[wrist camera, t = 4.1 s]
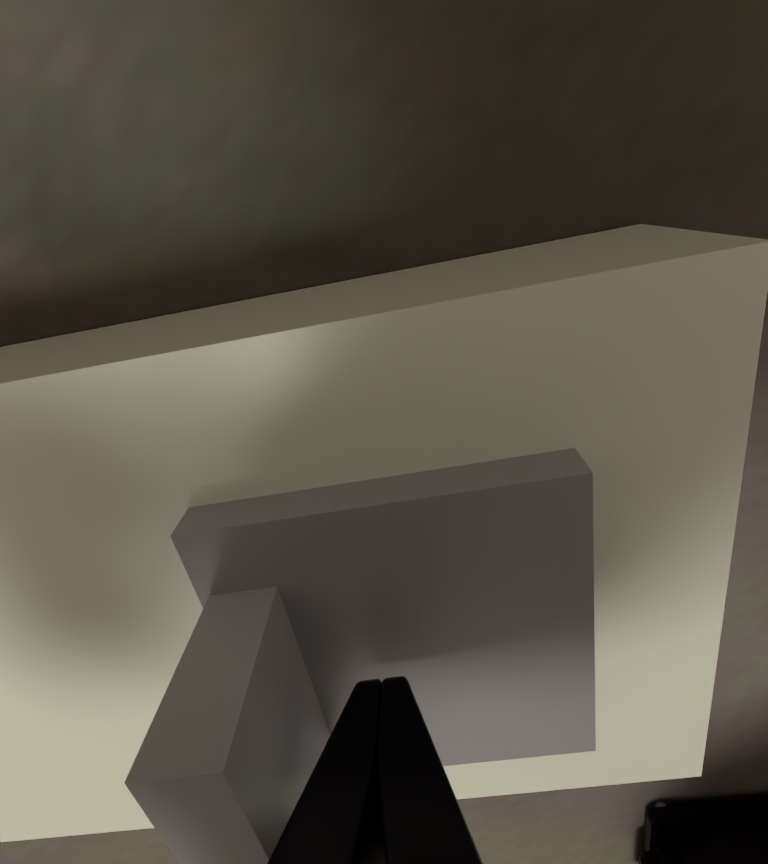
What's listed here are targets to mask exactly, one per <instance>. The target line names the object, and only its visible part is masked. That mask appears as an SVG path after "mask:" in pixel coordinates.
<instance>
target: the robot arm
mask: <svg viewBox="0 0 768 864" xmlns="http://www.w3.org/2000/svg"><path fill="white" fill-rule="evenodd" d="M267 864H483V863H482V860H481V858H480V855H479V853H478V850H477V848H476V845H475V843H474V841H473V838H472V836H471V833H470V831H469V828H468V826H467V824H466V821H465V819H464V816H463V814H462V811H461V809H460V806H459V804H458V802H457V799H456V797H455V794H454V792H453V789H452V787H451V784H450V782H449V780H448V777H447V775H446V772H445V770H444V767H443V765H442V763H441V760H440V758H439V755H438V753H437V750H436V748H435V745H434V743H433V741H432V738H431V736H430V733H429V731H428V728H427V726H426V724H425V721H424V719H423V716H422V714H421V711H420V709H419V706H418V704H417V702H416V699H415V697H414V694H413V692H412V689H411V687H410V684H409V682H408V680H407V678H406V677H404V676H398V677H389V678H385V679H383V681H381V680H380V679H372V680H363V681H359V682H358V683H356V685H355V687H354V688H353V690H352V692H351V694H350V696H349V698H348V701H347V703H346V705H345V707H344V709H343V711H342V713H341V715H340V717H339V719H338V721H337V723H336V725H335V727H334V729H333V731H332V733H331V735H330V737H329V739H328V741H327V743H326V745H325V747H324V749H323V751H322V753H321V755H320V757H319V759H318V761H317V763H316V765H315V767H314V769H313V772H312V774H311V776H310V778H309V780H308V782H307V784H306V786H305V788H304V790H303V792H302V794H301V796H300V798H299V800H298V802H297V804H296V806H295V808H294V810H293V812H292V814H291V816H290V818H289V820H288V822H287V824H286V826H285V828H284V830H283V832H282V834H281V836H280V838H279V841H278V843H277V845H276V847H275V849H274V851H273V853H272V855H271V857H270V859H269V861H268V863H267ZM639 864H768V797H765V798H754V799H743V800H732V801H720V802H709V803H698V804H687V805H676V806H664V807H657V808H654V809H651V810H650V811H649V812H648V813H647V815H646V825H645V841H644V851H642V853H641V855H640V858H639Z"/></svg>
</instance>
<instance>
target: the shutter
mask: <svg viewBox="0 0 768 864" xmlns="http://www.w3.org/2000/svg"><path fill="white" fill-rule="evenodd" d="M170 537H171V539H172V541H173V543H174V545H175V548H176V550H177V552H178V554H179V556H180V559H181V561H182V563H183V565H184V568H185V570H186V572H187V574H188V576H189V579H190V581H191V583H192V585H193V587H194V590H195V592H196V594H197V596H198V598H199V601H200V603H201V605H202V607H203V610H202V612H201V615H200V617H199V619H198V621H197V623H196V626H195V628H194V630H193V632H192V635H191V637H190V639H189V641H188V643H187V646H186V648H185V650H184V652H183V654H182V657H181V659H180V661H179V663H178V665H177V668H176V670H175V672H174V674H173V676H172V679H171V681H170V683H169V685H168V688H167V690H166V692H165V694H164V696H163V699H162V701H161V703H160V705H159V707H158V710H157V712H156V714H155V716H154V718H153V721H152V723H151V725H150V727H149V729H148V732H147V734H146V736H145V738H144V741H143V743H142V745H141V747H140V749H139V752H138V754H137V756H136V758H135V760H134V763H133V765H132V767H131V769H130V771H129V774H128V776H127V778H126V780H125V782H124V783H125V785H126V786H127V788H128V789H129V791H130V792H131V794H132V795H133V797H134V798H135V800H136V801H137V803H138V804H139V806H140V807H141V808H142V810H143V811H144V813H145V814H146V816H147V817H148V819H149V820H150V822H151V823H152V825H153V826H154V828H155V829H156V831H157V832H158V834H159V835H160V837H161V838H162V840H163V841H164V843H165V844H166V846H167V847H168V848H169V850H170V851H171V853H172V854H173V856H174V857H175V859H176V860H177V862H178V863H179V864H267V863H268V861H269V859H270V857H271V855H272V853H273V851H274V849H275V847H276V845H277V843H278V841H279V838H280V836H281V834H282V832H283V830H284V828H285V826H286V824H287V822H288V820H289V818H290V816H291V814H292V812H293V810H294V808H295V806H296V804H297V802H298V800H299V798H300V796H301V794H302V792H303V790H304V788H305V786H306V784H307V782H308V780H309V778H310V776H311V774H312V772H313V769H314V767H315V765H316V763H317V761H318V759H319V757H320V755H321V753H322V751H323V749H324V747H325V745H326V743H327V741H328V739H329V737H330V735H331V733H332V731H333V729H334V727H335V725H336V723H337V721H338V719H339V717H340V715H341V713H342V711H343V709H344V707H345V705H346V703H347V701H348V698H349V696H350V694H351V692H352V690H353V688H354V687H355V685H356V683H358V682H359V681H363V680H372V679H380V680H381V681H383V679H385V678H389V677H398V676H404V677H406V678H407V680H408V682H409V684H410V687H411V689H412V692H413V694H414V697H415V699H416V702H417V704H418V706H419V709H420V711H421V714H422V716H423V719H424V721H425V724H426V726H427V728H428V731H429V733H430V736H431V738H432V741H433V743H434V745H435V748H436V750H437V753H438V755H439V758H440V760H441V763H442V765H443V766H450V765H460V764H470V763H480V762H490V761H500V760H510V759H520V758H530V757H540V756H550V755H560V754H570V753H579V752H589V751H596V734H595V638H594V541H593V472H592V471H591V470H590V468H589V467H588V465H587V464H586V463H585V461H584V460H583V458H582V457H581V456H580V454H579V453H578V452H577V450H576V449H575V448H571V449H564V450H558V451H551V452H545V453H539V454H532V455H526V456H519V457H513V458H506V459H500V460H493V461H487V462H480V463H474V464H467V465H461V466H454V467H448V468H442V469H435V470H429V471H422V472H416V473H409V474H403V475H396V476H390V477H383V478H377V479H370V480H364V481H357V482H351V483H345V484H338V485H332V486H325V487H319V488H312V489H306V490H299V491H293V492H286V493H280V494H273V495H267V496H261V497H254V498H248V499H241V500H235V501H228V502H222V503H215V504H209V505H202V506H196V507H189V508H188V509H187V511H186V512H185V514H184V515H183V517H182V519H181V520H180V522H179V523H178V525H177V526H176V528H175V529H174V531H173V533H172V534H171V536H170Z"/></svg>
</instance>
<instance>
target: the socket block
mask: <svg viewBox="0 0 768 864" xmlns="http://www.w3.org/2000/svg"><path fill="white" fill-rule="evenodd" d="M767 292H768V239H760V238H751V237H743V236H735V235H727V234H719V233H711V232H703V231H695V230H687V229H679V228H671V227H663V226H655V225H647V224H637V225H632V226H627V227H622V228H617V229H611V230H606V231H601V232H596V233H591V234H585V235H580V236H575V237H570V238H565V239H559V240H554V241H549V242H544V243H539V244H533V245H528V246H523V247H518V248H513V249H507V250H502V251H497V252H492V253H487V254H481V255H476V256H471V257H466V258H461V259H455V260H450V261H445V262H440V263H435V264H429V265H424V266H419V267H414V268H409V269H403V270H398V271H393V272H388V273H383V274H377V275H372V276H367V277H362V278H357V279H351V280H346V281H341V282H336V283H331V284H325V285H320V286H315V287H310V288H305V289H299V290H294V291H289V292H284V293H279V294H273V295H268V296H263V297H258V298H253V299H247V300H242V301H237V302H232V303H227V304H221V305H216V306H211V307H206V308H201V309H195V310H190V311H185V312H180V313H175V314H169V315H164V316H159V317H154V318H149V319H143V320H138V321H133V322H128V323H123V324H117V325H112V326H107V327H102V328H97V329H91V330H86V331H81V332H76V333H71V334H65V335H60V336H55V337H50V338H45V339H39V340H34V341H29V342H24V343H19V344H13V345H8V346H3V347H0V841H1V842H8V841H19V840H30V839H40V838H51V837H62V836H72V835H83V834H93V833H104V832H115V831H125V830H136V829H147V828H154V826H153V825H152V823H151V822H150V820H149V819H148V817H147V816H146V814H145V813H144V811H143V810H142V808H141V807H140V806H139V804H138V803H137V801H136V800H135V798H134V797H133V795H132V794H131V792H130V791H129V789H128V788H127V786H126V785H125V783H124V782H125V780H126V778H127V776H128V774H129V771H130V769H131V767H132V765H133V763H134V760H135V758H136V756H137V754H138V752H139V749H140V747H141V745H142V743H143V741H144V738H145V736H146V734H147V732H148V729H149V727H150V725H151V723H152V721H153V718H154V716H155V714H156V712H157V710H158V707H159V705H160V703H161V701H162V699H163V696H164V694H165V692H166V690H167V688H168V685H169V683H170V681H171V679H172V676H173V674H174V672H175V670H176V668H177V665H178V663H179V661H180V659H181V657H182V654H183V652H184V650H185V648H186V646H187V643H188V641H189V639H190V637H191V635H192V632H193V630H194V628H195V626H196V623H197V621H198V619H199V617H200V615H201V612H202V610H203V607H202V605H201V603H200V601H199V598H198V596H197V594H196V592H195V590H194V587H193V585H192V583H191V581H190V579H189V576H188V574H187V572H186V570H185V568H184V565H183V563H182V561H181V559H180V556H179V554H178V552H177V550H176V548H175V545H174V543H173V541H172V539H171V537H170V536H171V534H172V533H173V531H174V529H175V528H176V526H177V525H178V523H179V522H180V520H181V519H182V517H183V515H184V514H185V512H186V511H187V509H188V508H189V507H196V506H202V505H209V504H215V503H222V502H228V501H235V500H241V499H248V498H254V497H261V496H267V495H273V494H280V493H286V492H293V491H299V490H306V489H312V488H319V487H325V486H332V485H338V484H345V483H351V482H357V481H364V480H370V479H377V478H383V477H390V476H396V475H403V474H409V473H416V472H422V471H429V470H435V469H442V468H448V467H454V466H461V465H467V464H474V463H480V462H487V461H493V460H500V459H506V458H513V457H519V456H526V455H532V454H539V453H545V452H551V451H558V450H564V449H571V448H575V449H576V450H577V452H578V453H579V454H580V456H581V457H582V458H583V460H584V461H585V463H586V464H587V465H588V467H589V468H590V470H591V471H592V472H593V541H594V638H595V734H596V751H589V752H579V753H570V754H560V755H550V756H540V757H530V758H520V759H510V760H500V761H490V762H480V763H470V764H460V765H450V766H443V767H444V770H445V772H446V775H447V777H448V780H449V782H450V784H451V787H452V789H453V792H454V794H455V797H456V799H466V798H476V797H487V796H498V795H508V794H519V793H530V792H540V791H551V790H562V789H572V788H583V787H593V786H604V785H615V784H625V783H636V782H647V781H657V780H668V779H679V778H689V777H700V776H701V775H702V768H703V760H704V753H705V746H706V738H707V731H708V724H709V717H710V709H711V702H712V695H713V687H714V680H715V673H716V665H717V658H718V651H719V643H720V636H721V629H722V621H723V614H724V607H725V599H726V592H727V585H728V578H729V570H730V563H731V556H732V548H733V541H734V534H735V526H736V519H737V512H738V504H739V497H740V490H741V482H742V475H743V468H744V460H745V453H746V446H747V439H748V431H749V424H750V417H751V409H752V402H753V395H754V387H755V380H756V373H757V365H758V358H759V351H760V343H761V336H762V329H763V321H764V314H765V307H766V300H767Z"/></svg>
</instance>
